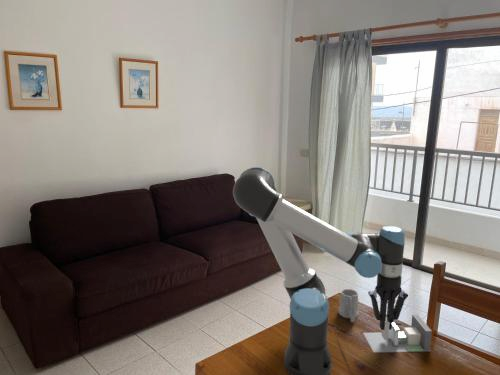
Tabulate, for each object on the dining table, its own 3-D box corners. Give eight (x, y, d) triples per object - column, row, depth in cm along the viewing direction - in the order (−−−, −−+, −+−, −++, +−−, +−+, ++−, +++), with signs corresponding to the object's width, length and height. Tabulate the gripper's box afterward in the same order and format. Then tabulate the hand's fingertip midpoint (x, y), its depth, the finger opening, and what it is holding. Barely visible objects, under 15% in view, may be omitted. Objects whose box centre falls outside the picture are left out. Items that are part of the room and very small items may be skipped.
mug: (355, 310, 154) (357, 283, 151) (363, 327, 142) (365, 298, 140) (336, 310, 154) (337, 282, 151) (342, 327, 142) (344, 297, 140)
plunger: (394, 345, 129) (395, 329, 127) (387, 334, 135) (388, 319, 133) (409, 345, 129) (411, 329, 128) (402, 334, 135) (403, 319, 133)
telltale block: (408, 344, 130) (409, 334, 129) (403, 337, 134) (404, 327, 133) (419, 344, 130) (420, 334, 129) (414, 337, 134) (415, 327, 133)
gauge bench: (373, 355, 126) (375, 333, 125) (362, 335, 137) (364, 315, 135) (430, 354, 127) (432, 332, 125) (415, 334, 138) (417, 313, 136)
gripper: (374, 278, 122) (369, 344, 127) (414, 277, 123) (408, 343, 128) (366, 268, 130) (362, 331, 135) (404, 268, 130) (398, 330, 135)
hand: (384, 337), depth 131 cm, fingers closed
